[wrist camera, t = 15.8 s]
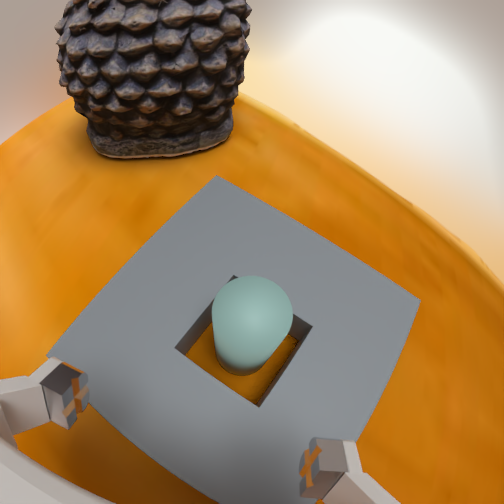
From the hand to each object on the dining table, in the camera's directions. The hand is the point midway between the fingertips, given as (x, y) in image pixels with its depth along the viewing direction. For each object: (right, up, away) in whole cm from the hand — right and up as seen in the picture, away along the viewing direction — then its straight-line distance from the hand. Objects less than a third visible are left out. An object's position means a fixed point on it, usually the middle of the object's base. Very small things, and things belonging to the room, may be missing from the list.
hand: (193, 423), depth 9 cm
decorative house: (-9, +20, +26) cm, 34 cm away
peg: (+1, -2, +14) cm, 14 cm away
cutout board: (+1, -2, +14) cm, 14 cm away
